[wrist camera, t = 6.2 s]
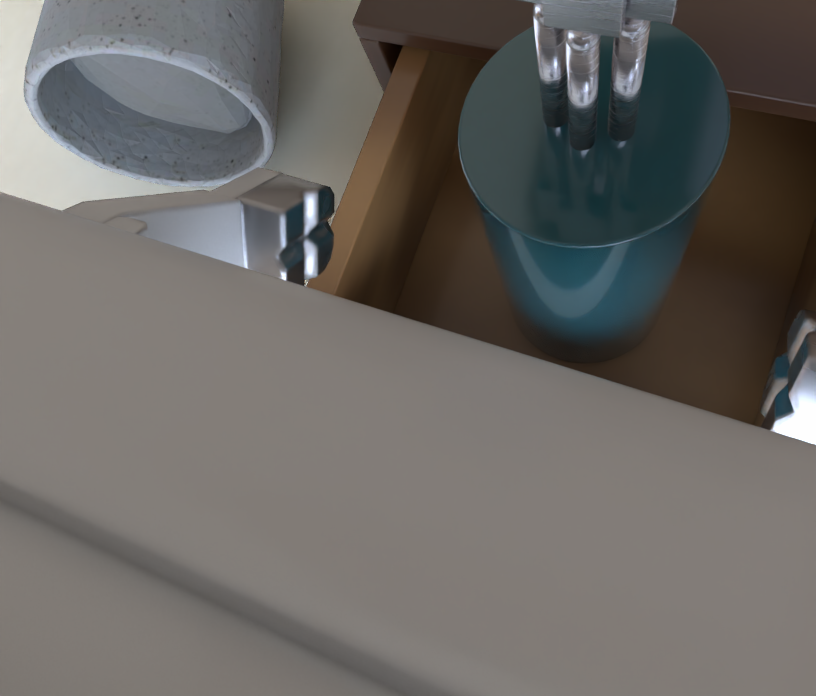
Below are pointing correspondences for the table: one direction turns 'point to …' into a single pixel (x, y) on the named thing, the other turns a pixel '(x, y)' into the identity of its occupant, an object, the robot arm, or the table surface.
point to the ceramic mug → (159, 85)
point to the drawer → (478, 279)
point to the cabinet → (696, 16)
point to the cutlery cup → (593, 168)
